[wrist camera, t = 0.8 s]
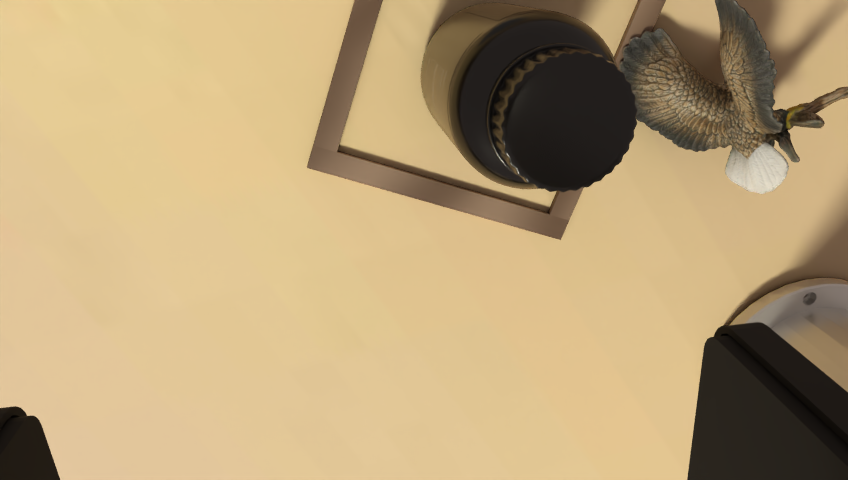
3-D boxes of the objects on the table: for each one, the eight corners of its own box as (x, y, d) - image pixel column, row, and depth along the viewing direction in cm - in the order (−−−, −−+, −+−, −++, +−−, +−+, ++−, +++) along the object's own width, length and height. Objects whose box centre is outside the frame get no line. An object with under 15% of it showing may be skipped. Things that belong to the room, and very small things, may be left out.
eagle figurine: (830, 31, 33) (718, -53, 29) (890, 138, 29) (771, 59, 25) (703, 121, 38) (593, 61, 34) (740, 222, 35) (621, 169, 30)
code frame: (673, -25, 32) (676, -24, 32) (558, 237, 37) (560, 239, 37) (394, -140, 29) (395, -140, 28) (307, 166, 33) (307, 167, 33)
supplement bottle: (512, 161, 35) (598, 252, 24) (396, 107, 33) (430, 178, 22) (579, 39, 33) (705, 76, 22) (458, -27, 31) (530, -23, 20)
